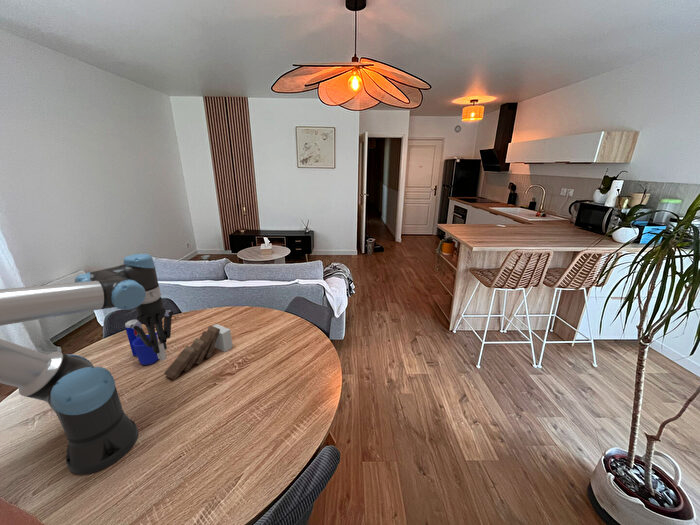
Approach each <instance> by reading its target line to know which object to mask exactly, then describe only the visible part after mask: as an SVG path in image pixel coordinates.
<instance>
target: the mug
mask: <svg viewBox="0 0 700 525" xmlns="http://www.w3.org/2000/svg"><path fill="white" fill-rule="evenodd" d="M155 332H156V336H157V331H155ZM146 335H147V337H148V339H149V340H150V338H149V334H146ZM157 341H159V340H158V336H157ZM132 345H133V347H134V350H135V352H136V355H137V356H136V357H137V361H138V362H139V363H140V364H141V365H143V366H148V365H151V364H154V363H156V362H157V361H158V360H159V359H158V356H157V354H156V353H154V352H153V348H152V347H148V346H146V345H145V344H144V343H143V341H142V340H141V338H140V337H138V338H137V339H135V340H134V341H133V343H132Z"/></svg>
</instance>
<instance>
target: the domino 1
mask: <svg viewBox="0 0 700 525" xmlns="http://www.w3.org/2000/svg"><path fill="white" fill-rule="evenodd" d="M190 346H191V345H187V344H186V346H185V347H184V348H183V350H181V351H180V353H179V354H178V356H177V357H175V359H174V360H173V361H172V362H171V364H170V365H169V366H168V368H167V369H166V370H165V372H164V373H163V374H164V375H165V376H167V377H169V378H170V379H172V380H174V381H175V380H176V379H177V378H178V377H179V375H180V374H181V373H182V372H183V371H184V370H183V369H184V368H185V367H186V365H187V364H188V363H189V361H190V360H191V359H192V358H193V356H194V355H195V354H196V353H197V350H195V349H194V348H192V347H190Z"/></svg>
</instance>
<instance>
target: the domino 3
mask: <svg viewBox="0 0 700 525" xmlns="http://www.w3.org/2000/svg"><path fill="white" fill-rule="evenodd" d="M214 336H215V335H213V334H211V333H208V332H207V331H205V330H203V332H202V333H201V335H200V337H199V339H200V340H202V341H204V342H206V343H207V344H206V345H205V347H204V348H203V350H202V351H201V353H200V354H199V356H198V357H197V359H196V360H195V362H194V363H195V364H197V365H201V364H202V361H203V360H204V358H205V357H204V356H205V354H206V352H207V350H208V348H209V346H210V344H211V342H212V340H213V338H214Z"/></svg>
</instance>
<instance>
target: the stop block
mask: <svg viewBox="0 0 700 525" xmlns="http://www.w3.org/2000/svg"><path fill="white" fill-rule="evenodd" d="M212 326H213V327H216V328H218V329H220V331H219V334H218V337H217V340H216V343H215V346H214V349H217V350H219V351H222V352H224V353H227V352H228V351H230V350H231V349H233V347H234V346H233V345H234V344H233V339H232V333H231V329H230V328H228V327H225V326H222V325H220V324H217V323H216V324H213V325H212Z"/></svg>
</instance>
